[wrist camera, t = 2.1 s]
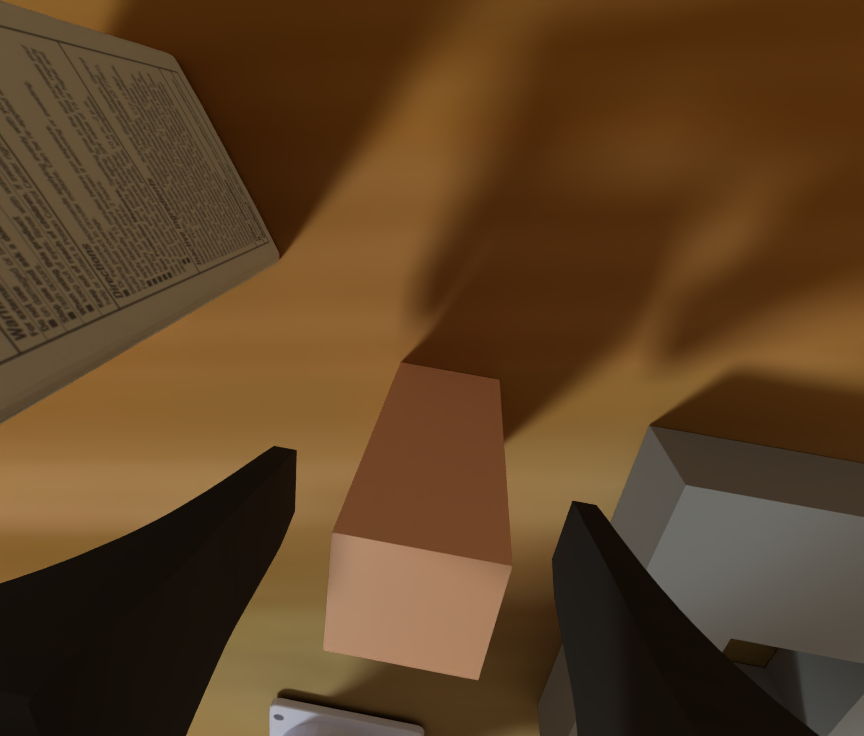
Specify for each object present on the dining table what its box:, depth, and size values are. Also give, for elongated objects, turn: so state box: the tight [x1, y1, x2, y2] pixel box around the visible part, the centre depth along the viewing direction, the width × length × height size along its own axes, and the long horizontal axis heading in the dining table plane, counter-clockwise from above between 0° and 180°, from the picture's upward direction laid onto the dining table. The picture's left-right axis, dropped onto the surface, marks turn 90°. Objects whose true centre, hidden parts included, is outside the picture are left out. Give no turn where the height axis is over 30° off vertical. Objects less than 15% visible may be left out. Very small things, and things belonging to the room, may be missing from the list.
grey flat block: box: [537, 426, 864, 736], centre depth 18 cm, size 16×12×3 cm
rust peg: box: [323, 362, 512, 680], centre depth 13 cm, size 3×3×8 cm
